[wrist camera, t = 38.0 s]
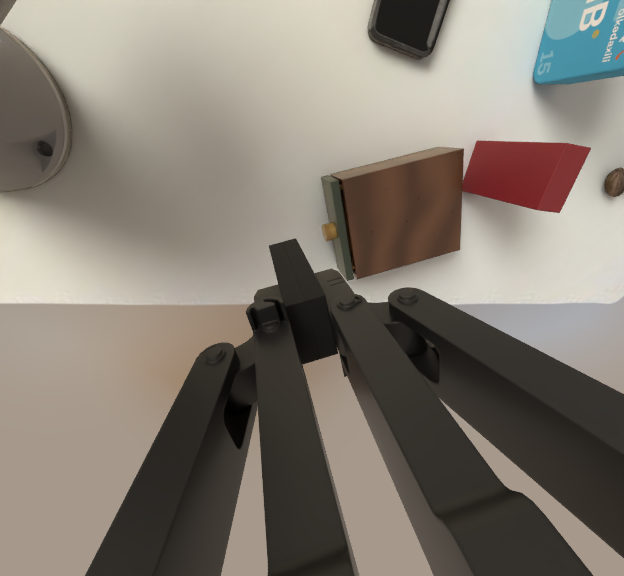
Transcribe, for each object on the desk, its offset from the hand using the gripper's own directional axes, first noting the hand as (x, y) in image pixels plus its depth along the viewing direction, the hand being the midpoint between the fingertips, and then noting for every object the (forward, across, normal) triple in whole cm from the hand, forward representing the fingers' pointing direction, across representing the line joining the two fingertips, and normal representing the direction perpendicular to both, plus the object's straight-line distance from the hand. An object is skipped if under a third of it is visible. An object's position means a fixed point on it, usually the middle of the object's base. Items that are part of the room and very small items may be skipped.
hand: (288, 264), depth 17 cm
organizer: (+24, +16, -6) cm, 30 cm away
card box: (+24, +30, -4) cm, 39 cm away
